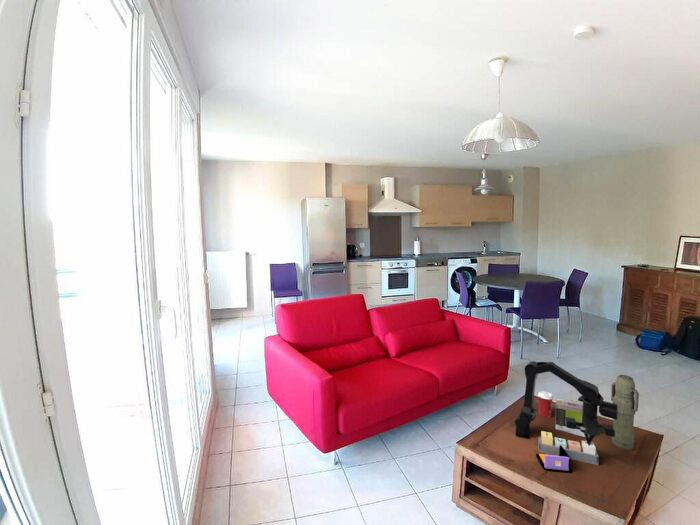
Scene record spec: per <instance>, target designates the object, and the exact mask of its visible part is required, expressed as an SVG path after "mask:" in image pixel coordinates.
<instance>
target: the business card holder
mask: <svg viewBox="0 0 700 525" xmlns="http://www.w3.org/2000/svg"><path fill="white" fill-rule="evenodd" d="M535 457H536V459H537V460H538V462H539V464H540V466H541V468H542V469H543V471H546V472H553V473H562V474H573V471H572V469H571V468H570V467H571V459H570V457H569V456H568V454H567V453H566V451H565V450H564V448H563V447H562V446H561V445H560V447H559V456H557V455H551V454H546V453H536V454H535Z"/></svg>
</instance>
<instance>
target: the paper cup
mask: <svg viewBox="0 0 700 525" xmlns="http://www.w3.org/2000/svg"><path fill="white" fill-rule="evenodd" d="M537 396H538V414H539V416H541V417H543V418H548V419H549V418H551V416H552V409H553V408H552V406H553V399H554V396H553V393H551V392H548V391H543V390H542V391H539V392H538V394H537Z"/></svg>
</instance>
